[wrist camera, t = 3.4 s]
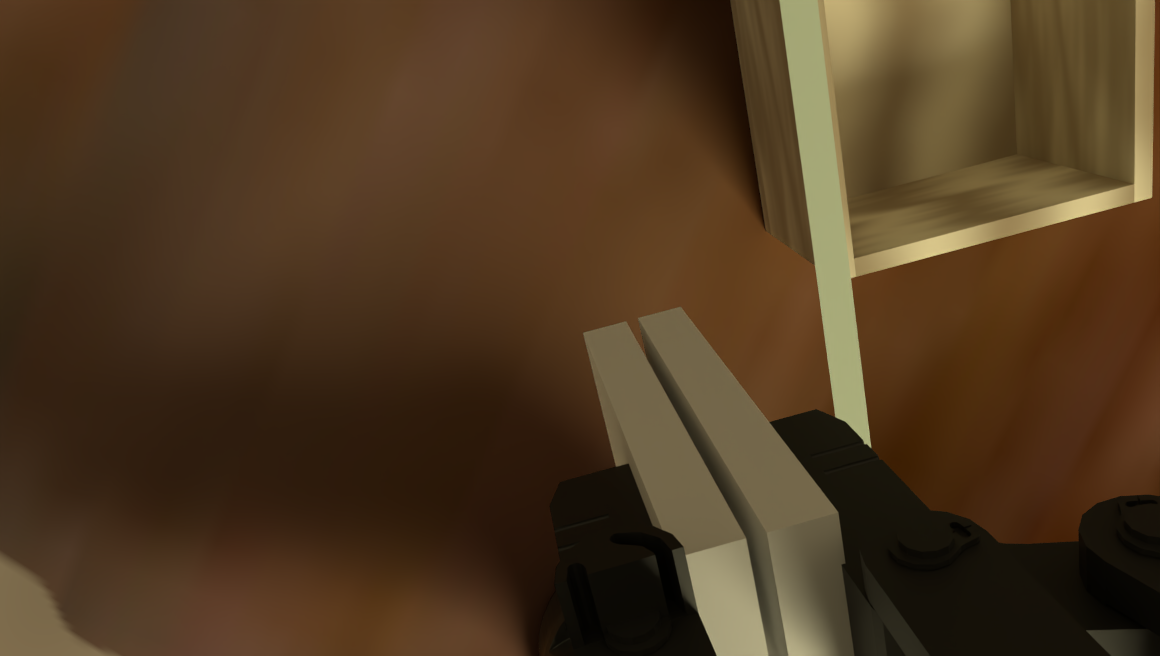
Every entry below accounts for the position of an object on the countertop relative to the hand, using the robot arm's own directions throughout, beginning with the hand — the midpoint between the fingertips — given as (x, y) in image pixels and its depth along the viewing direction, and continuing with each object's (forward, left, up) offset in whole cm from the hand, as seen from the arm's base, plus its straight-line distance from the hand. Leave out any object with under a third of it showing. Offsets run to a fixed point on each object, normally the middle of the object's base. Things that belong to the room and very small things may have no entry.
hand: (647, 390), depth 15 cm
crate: (+18, 0, -28) cm, 34 cm away
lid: (+9, 0, -13) cm, 15 cm away
